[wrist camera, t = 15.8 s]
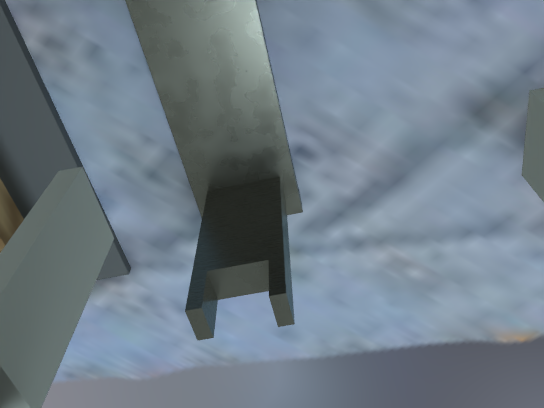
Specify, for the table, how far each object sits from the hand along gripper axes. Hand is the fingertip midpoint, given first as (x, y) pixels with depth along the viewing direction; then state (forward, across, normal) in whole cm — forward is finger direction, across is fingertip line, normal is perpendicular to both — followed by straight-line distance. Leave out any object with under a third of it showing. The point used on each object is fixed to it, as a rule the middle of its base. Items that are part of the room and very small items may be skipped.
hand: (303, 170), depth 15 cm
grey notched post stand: (+31, -7, -6) cm, 32 cm away
